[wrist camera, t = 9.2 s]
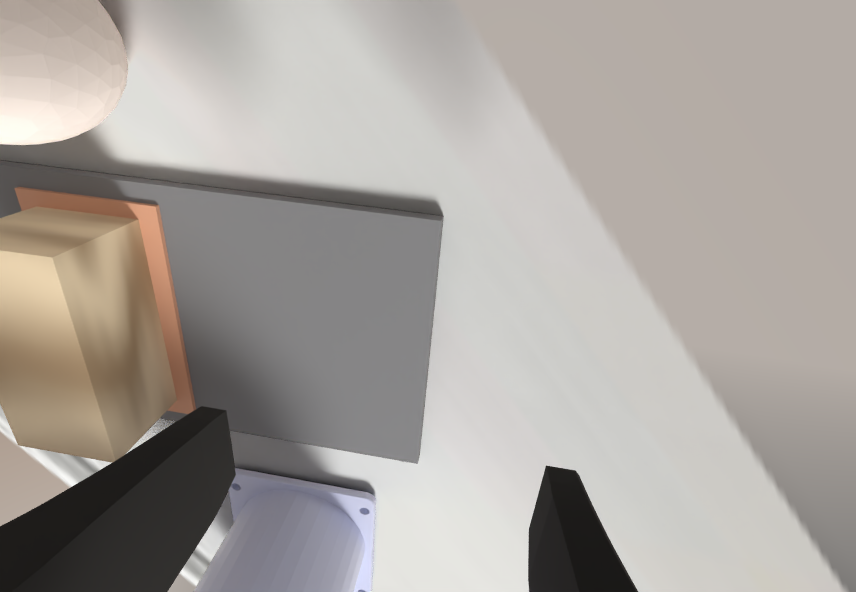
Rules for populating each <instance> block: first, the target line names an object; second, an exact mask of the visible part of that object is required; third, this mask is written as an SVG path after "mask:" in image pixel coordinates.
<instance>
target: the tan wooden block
mask: <svg viewBox="0 0 856 592" xmlns="http://www.w3.org/2000/svg"><path fill="white" fill-rule="evenodd" d="M176 401H177V397H176V393H175V388H174V383H173V378H172V374H171V369H170V364H169V360H168V355H167V350H166V346H165V341H164V336H163V332H162V327H161V322H160V318H159V313H158V308H157V304H156V299H155V294H154V290H153V285H152V280H151V275H150V271H149V266H148V261H147V257H146V252H145V247H144V243H143V238H142V233H141V229H140V224H139V219H132V218H124V217H116V216H108V215H100V214H93V213H85V212H77V211H69V210H61V209H53V208H45V207H33V208H30V209H27V210H24V211H21V212H18V213H15V214H12V215H9V216H5V217H2V218H0V404H1V406H2V409H3V411H4V413H5V416H6V418H7V420H8V423H9V425H10V427H11V429H12V432H13V434H14V436H15V439H16V441H17V443H18V445H20V446H25V447H31V448H36V449H42V450H47V451H53V452H58V453H63V454H69V455H74V456H80V457H85V458H91V459H96V460H102V461H107V462H114V461H116V460H117V459H119V458H121V457H122V456H124V455H125V454H126V453H127V452H128V451H129V450H130V449H131V447H132V446H133V445H134V444H135V443H136V442H137V441H138V440H139V439H140V438H141V437H142V436H143V435H144V434H145V433H146V432H147V431H148V430H149V429H150V428H151V427H152V426H153V425H154V424H155V423H156V421H157V420H158V419H159V418H160V417H161V416H162V415H163V414H164V413H165V412H166V411H167V410H168V409H169V408H170V407H171V406H172V405H173V404H174V403H175V402H176Z"/></svg>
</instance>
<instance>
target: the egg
mask: <svg viewBox="0 0 856 592" xmlns="http://www.w3.org/2000/svg"><path fill="white" fill-rule="evenodd" d="M127 74H128V64H127V55H126V50H125V47H124V44H123V40H122V37H121V35H120V33H119V31H118V29H117V28H116V26H115V24H114V22H113V21H112V19H111V17H110V15H109V14H108V13H107V11H106V10H105V8H104V7H103V6H102V4H101V3H100V2H99V1H98V0H0V144H9V145H33V144H43V143H50V142H57V141H63V140H66V139H69V138H72V137H75V136H77V135H80V134H82V133H84V132H86V131H88V130H90V129H92V128H94V127H96V126H97V125H99V124H100V123H101V122H102V121H103V120H104V119H105V118H106V117H107V116H108V115H109V114H110V113H111V112H112V111H113V110H114V109H115V108H116V106H117V104H118V102H119V100H120V98H121V96H122V94H123V91H124V89H125V87H126V82H127Z"/></svg>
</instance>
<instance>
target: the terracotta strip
mask: <svg viewBox="0 0 856 592" xmlns="http://www.w3.org/2000/svg"><path fill="white" fill-rule="evenodd" d="M15 192H16V195H17V198H18V201H19V204H20V207H21V210H22V211H24V210H27V209H30V208H33V207H45V208H53V209H61V210H69V211H77V212H85V213H93V214H100V215H108V216H116V217H124V218H132V219H139V224H140V229H141V233H142V238H143V243H144V247H145V252H146V257H147V261H148V266H149V271H150V275H151V280H152V285H153V290H154V294H155V299H156V304H157V308H158V313H159V318H160V322H161V327H162V332H163V336H164V341H165V346H166V350H167V355H168V360H169V364H170V369H171V374H172V378H173V383H174V388H175V393H176V397H177V401H176V402H175V403H174V404H173V405H172V406H171V407H170V408H169V409H168V410H167V411H173V412H179V413H184V414H189V413H191V412H192V411H194V410H196V405H195V400H194V394H193V389H192V383H191V378H190V373H189V367H188V362H187V356H186V351H185V345H184V340H183V334H182V329H181V323H180V318H179V312H178V307H177V301H176V296H175V290H174V285H173V280H172V274H171V269H170V263H169V258H168V252H167V247H166V241H165V236H164V230H163V225H162V219H161V214H160V208H159V205H154V204H146V203H138V202H131V201H123V200H115V199H108V198H100V197H93V196H85V195H77V194H70V193H62V192H54V191H47V190H39V189H32V188H24V187H17V188H15Z"/></svg>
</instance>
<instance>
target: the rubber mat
mask: <svg viewBox="0 0 856 592" xmlns="http://www.w3.org/2000/svg"><path fill="white" fill-rule="evenodd" d="M17 187H24V188H32V189H39V190H47V191H54V192H62V193H70V194H77V195H85V196H93V197H100V198H108V199H115V200H123V201H131V202H138V203H146V204H154V205H159V208H160V214H161V219H162V225H163V230H164V236H165V241H166V247H167V252H168V258H169V263H170V269H171V274H172V280H173V285H174V290H175V296H176V301H177V307H178V312H179V318H180V323H181V329H182V334H183V340H184V345H185V351H186V356H187V362H188V367H189V373H190V378H191V383H192V389H193V394H194V400H195V405H196V409H197V408H199V407H201V406H204V407H210V408H216V409H222V410H227V417H228V424H229V430H230V431H236V432H241V433H247V434H253V435H258V436H264V437H269V438H275V439H281V440H286V441H292V442H298V443H303V444H309V445H315V446H320V447H326V448H332V449H337V450H343V451H349V452H354V453H360V454H365V455H371V456H377V457H382V458H388V459H394V460H399V461H405V462H411V463H416V464H418V460H419V455H420V447H421V437H422V427H423V417H424V407H425V397H426V387H427V377H428V367H429V357H430V347H431V337H432V327H433V317H434V307H435V297H436V287H437V277H438V267H439V257H440V247H441V237H442V227H443V217H444V216H439V215H431V214H423V213H415V212H407V211H399V210H391V209H383V208H376V207H368V206H360V205H352V204H344V203H336V202H328V201H320V200H312V199H304V198H296V197H288V196H280V195H272V194H264V193H256V192H248V191H240V190H232V189H224V188H217V187H209V186H201V185H193V184H185V183H177V182H169V181H161V180H153V179H145V178H137V177H129V176H121V175H113V174H105V173H97V172H89V171H81V170H73V169H65V168H58V167H50V166H42V165H34V164H26V163H18V162H10V161H2V160H0V218H2V217H5V216H9V215H12V214H15V213H18V212H21V211H22V210H21V207H20V204H19V201H18V198H17V195H16V192H15V188H17ZM186 415H188V414H184V413H179V412H173V411H166V412H165V413H164V414H163V415H162V416H161V417H160V418H162V419H168V420H174V421H178V420H180V419H181V418H183V417H184V416H186Z"/></svg>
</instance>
